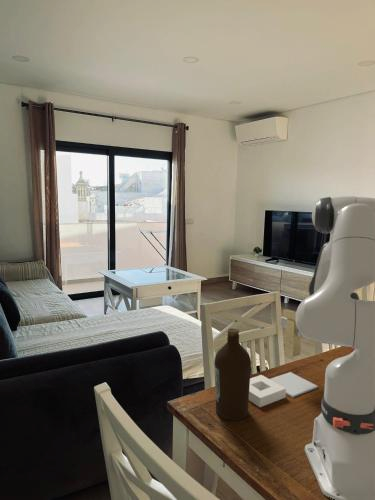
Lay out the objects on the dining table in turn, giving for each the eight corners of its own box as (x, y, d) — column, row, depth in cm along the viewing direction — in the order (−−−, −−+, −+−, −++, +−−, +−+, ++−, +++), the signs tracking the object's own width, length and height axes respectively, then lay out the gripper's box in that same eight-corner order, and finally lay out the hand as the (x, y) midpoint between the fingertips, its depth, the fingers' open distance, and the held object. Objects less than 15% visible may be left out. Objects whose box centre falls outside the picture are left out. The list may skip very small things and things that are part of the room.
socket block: (285, 397, 114) (285, 388, 114) (259, 407, 109) (259, 398, 108) (261, 383, 124) (261, 374, 123) (236, 391, 118) (236, 382, 118)
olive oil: (248, 403, 111) (250, 324, 108) (251, 423, 101) (253, 337, 98) (214, 401, 112) (215, 323, 109) (213, 421, 102) (214, 335, 99)
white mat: (317, 387, 121) (317, 385, 121) (292, 397, 114) (292, 395, 114) (290, 373, 131) (290, 372, 131) (265, 381, 124) (265, 380, 124)
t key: (305, 357, 119) (307, 314, 117) (298, 359, 117) (300, 316, 115) (287, 348, 126) (288, 308, 124) (280, 350, 124) (281, 310, 122)
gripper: (296, 308, 135) (269, 314, 128) (345, 323, 118) (317, 331, 111) (295, 324, 136) (269, 331, 129) (343, 342, 119) (316, 351, 112)
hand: (291, 331), depth 120 cm, fingers closed on t key, 3 cm apart
